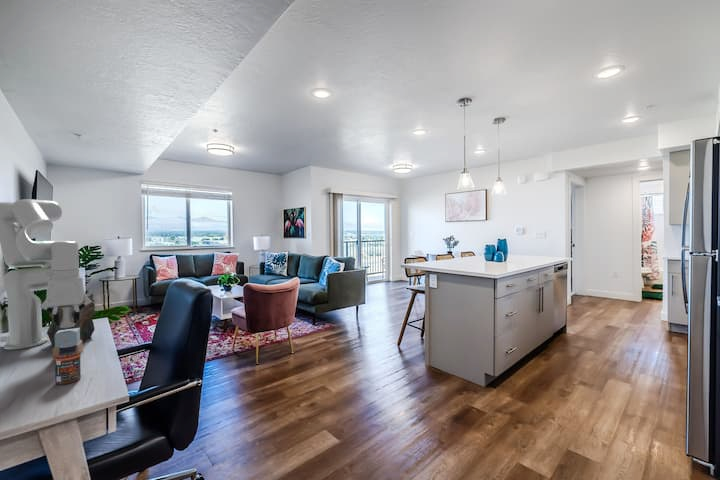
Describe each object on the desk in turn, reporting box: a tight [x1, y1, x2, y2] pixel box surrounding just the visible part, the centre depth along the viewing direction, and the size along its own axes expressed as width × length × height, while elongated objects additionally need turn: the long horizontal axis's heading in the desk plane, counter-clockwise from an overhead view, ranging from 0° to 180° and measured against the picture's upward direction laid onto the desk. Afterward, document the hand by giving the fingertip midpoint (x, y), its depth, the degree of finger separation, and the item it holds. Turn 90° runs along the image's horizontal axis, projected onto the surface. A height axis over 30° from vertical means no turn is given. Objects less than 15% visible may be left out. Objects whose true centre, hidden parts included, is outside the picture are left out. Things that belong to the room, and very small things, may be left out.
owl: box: [46, 292, 96, 347], centre depth 136 cm, size 13×13×20 cm
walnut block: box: [52, 340, 84, 363], centre depth 119 cm, size 7×7×5 cm
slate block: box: [54, 328, 80, 348], centre depth 119 cm, size 6×6×5 cm
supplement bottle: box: [54, 343, 82, 386], centre depth 99 cm, size 6×6×11 cm
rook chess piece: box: [59, 305, 75, 328], centre depth 119 cm, size 4×4×8 cm
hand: (67, 322), depth 119 cm, fingers closed on rook chess piece, 4 cm apart
